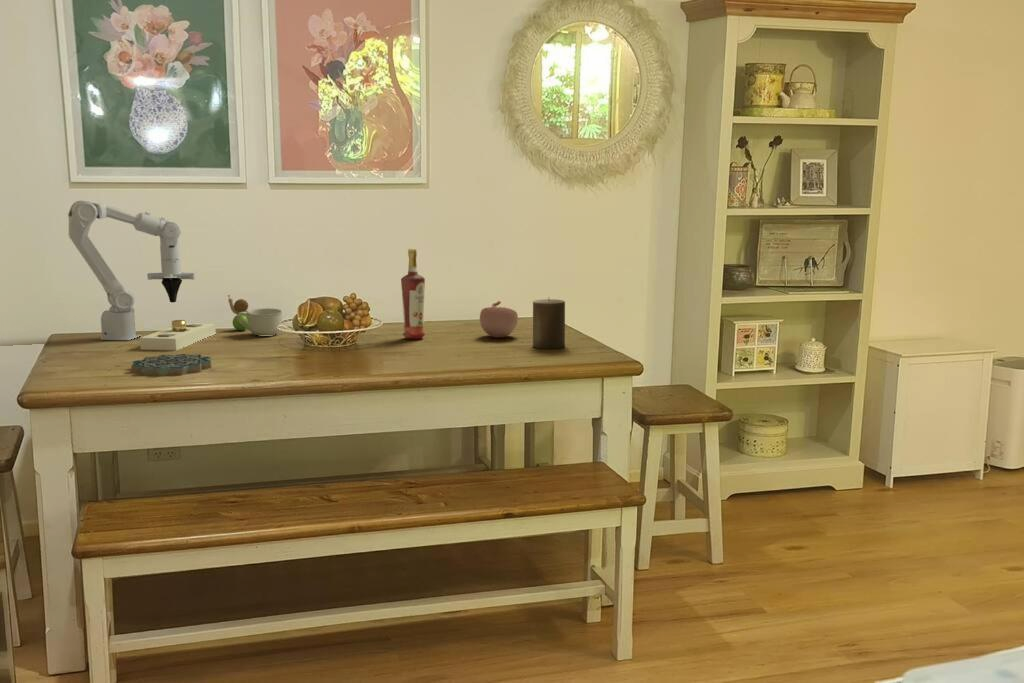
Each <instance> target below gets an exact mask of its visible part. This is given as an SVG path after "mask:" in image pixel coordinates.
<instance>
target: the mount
mask: <svg viewBox="0 0 1024 683" xmlns="http://www.w3.org/2000/svg"><path fill="white" fill-rule="evenodd" d="M190 324H196V323H189V322H188V323H186V325H190ZM197 324H198V325H199V327H186V331H181V332H174V331H172V326H170V327H167V328H164V329H162V330H160V331H159V330H158V331H157V332H153V333H150V334H148V335H144V336H141V337H139V343H140V350H141V349H142V350H147V351H179V350H182V349H183V347H184V348H186V347H188V345H189V346H192V345H194V344H196V343H198V342H197V341H199V342H201V341H203V340H202V339H204V338H206V339H208V338H207V337H209V336H211V337H213V336H212V335H214V334H216V335H217V332H216V323H197ZM160 334H172V336H171V337H158V335H160ZM214 336H215V335H214ZM209 338H210V337H209ZM200 340H201V341H200ZM204 340H205V339H204ZM195 342H196V343H195ZM193 343H194V344H193ZM142 350H141V351H142Z"/></svg>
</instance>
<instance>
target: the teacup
mask: <svg viewBox="0 0 1024 683" xmlns="http://www.w3.org/2000/svg"><path fill="white" fill-rule="evenodd" d="M241 315H245V316H246V317H247V320H248V324H246V323H244V322H243V321H242V320H241V319H240V317H241ZM237 319H238V322H239V323H240V324H241V325H243V326H245V327H246V328H247V329H246V330H248V331H250V332H251V333H252V335H254V336H256V335H274V334H276V335H277V334H278V333H280V331H281V330H279V329H277V326H278V325H279V324H281V323H282V324H283V310H282V309H280V308H272V307H271V308H270V307H267V308H266V307H265V308H264V307H263V308H254V309H253V308H252V309H251V310H250V309H249V310H248V312H247V313H246V312H240V313H239V314H238V316H237ZM274 336H275V335H274Z"/></svg>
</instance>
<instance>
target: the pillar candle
mask: <svg viewBox="0 0 1024 683" xmlns="http://www.w3.org/2000/svg"><path fill="white" fill-rule="evenodd" d="M565 315H566V301H565V300H563V299H550V297H549V296H548V299H535V300H533V301H532V347H533V348H538V349H541V350H542V349H544V350H555V349H562V348H565V346H566V316H565Z"/></svg>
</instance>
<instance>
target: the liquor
mask: <svg viewBox="0 0 1024 683" xmlns="http://www.w3.org/2000/svg"><path fill="white" fill-rule="evenodd" d="M417 250H418V248H409V249H407V255H408V269H407V270H408V272H407V274H406V275H404V276H402V278H400V279H401V280H400V283H401V284H400V286H401V297H402V298H401V299H402V312H403V331H404V332H403V333H402V336H403V337H404V338H405V339H406V340H411V341H417V340H418V341H419V340H422V339H423V337H424V336H425V335H426V334H425V332H424V319H425V318H424V317H425V316H424V315H425V314H424V312H425V310H424V309H425V307H424V306H425V288H426V286H425V285H426V284H425V282H426V279H425V277H423V276H422V275H420V274H418V273H419V272H418V264H417V256H418V253H417V252H418V251H417Z"/></svg>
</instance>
